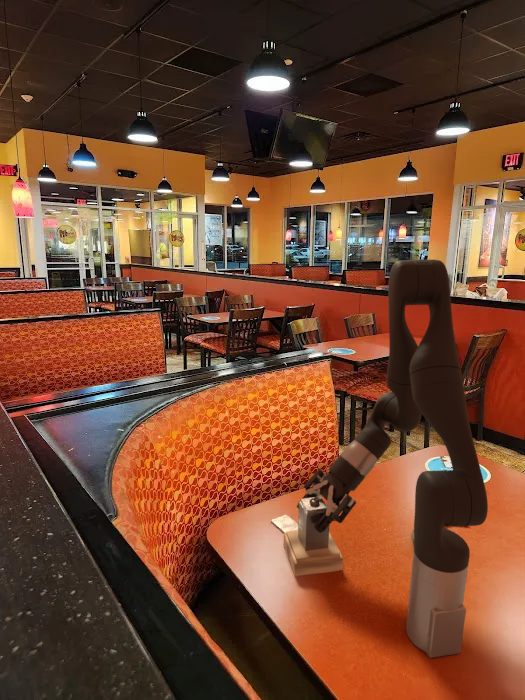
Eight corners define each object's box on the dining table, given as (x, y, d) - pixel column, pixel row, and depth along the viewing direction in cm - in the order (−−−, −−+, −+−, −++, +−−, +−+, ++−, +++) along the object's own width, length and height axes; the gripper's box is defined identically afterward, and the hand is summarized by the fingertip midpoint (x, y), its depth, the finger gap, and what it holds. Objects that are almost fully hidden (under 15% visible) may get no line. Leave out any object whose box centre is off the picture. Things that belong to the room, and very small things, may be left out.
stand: (342, 570, 102) (343, 554, 101) (294, 576, 100) (295, 560, 99) (326, 539, 113) (327, 525, 112) (283, 544, 111) (283, 530, 110)
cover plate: (302, 531, 117) (302, 527, 117) (286, 537, 114) (286, 534, 114) (286, 517, 123) (286, 514, 123) (270, 523, 120) (270, 520, 120)
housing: (328, 547, 104) (330, 506, 101) (305, 551, 103) (306, 509, 100) (319, 533, 109) (321, 493, 107) (297, 536, 108) (299, 495, 105)
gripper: (328, 443, 110) (284, 495, 109) (362, 470, 98) (313, 529, 96) (345, 460, 114) (303, 511, 112) (381, 488, 101) (333, 545, 99)
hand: (308, 519), depth 104 cm, fingers open, 8 cm apart
